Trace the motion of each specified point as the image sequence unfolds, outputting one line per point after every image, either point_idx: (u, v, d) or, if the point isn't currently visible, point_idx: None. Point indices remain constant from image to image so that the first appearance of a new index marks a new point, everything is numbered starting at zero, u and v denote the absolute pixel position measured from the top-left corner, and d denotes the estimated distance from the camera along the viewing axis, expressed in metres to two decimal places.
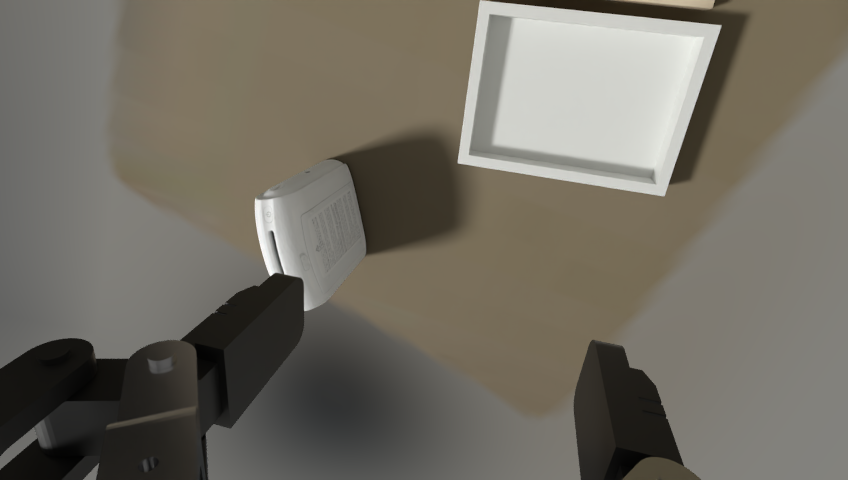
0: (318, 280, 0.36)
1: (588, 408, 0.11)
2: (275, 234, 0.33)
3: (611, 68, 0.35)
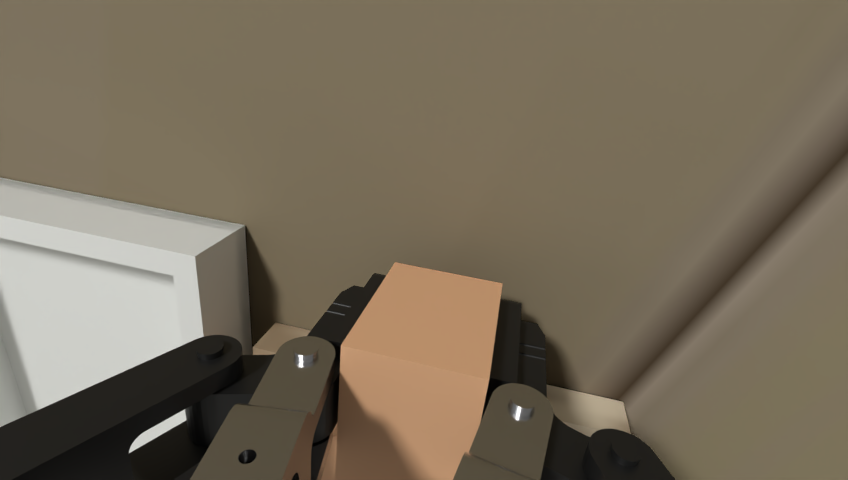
0: None
1: None
2: None
3: None
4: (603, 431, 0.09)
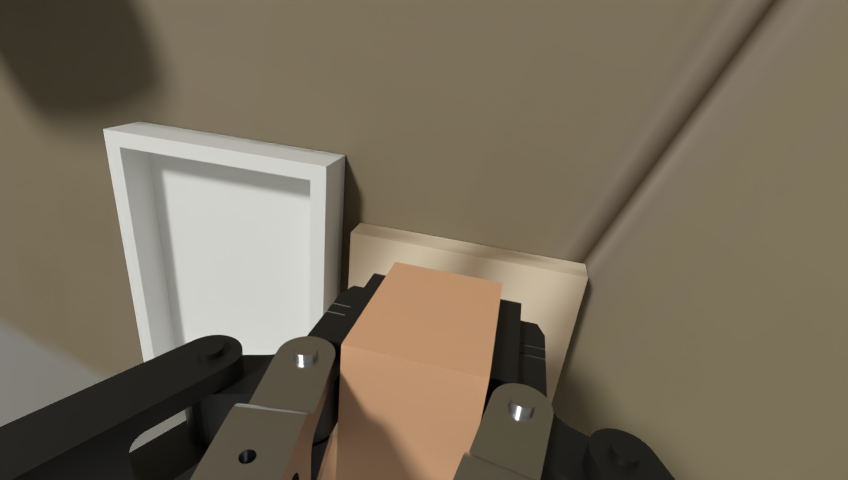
0: None
1: None
2: None
3: (280, 314, 0.28)
4: (603, 430, 0.09)
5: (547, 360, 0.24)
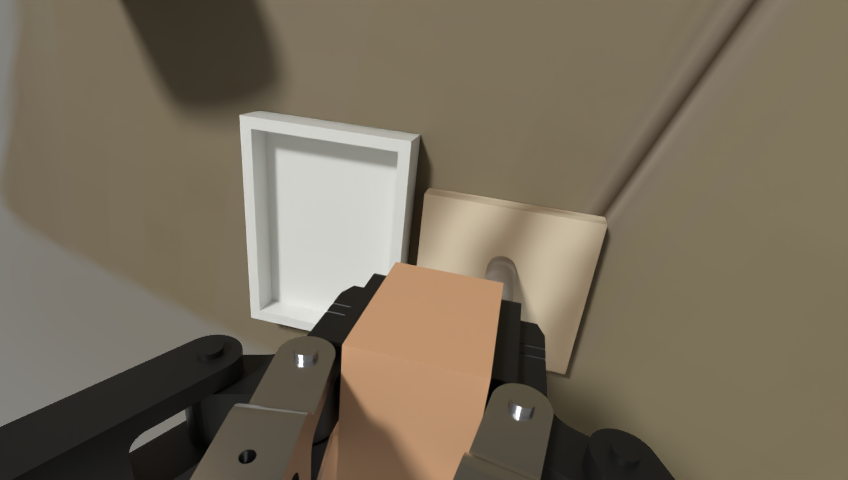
0: None
1: None
2: None
3: (361, 262, 0.36)
4: (602, 430, 0.09)
5: (575, 293, 0.32)
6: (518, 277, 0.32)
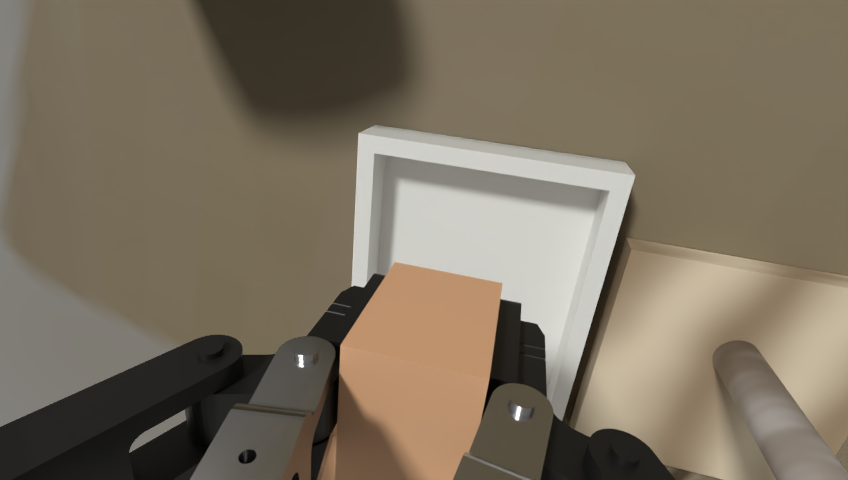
0: None
1: None
2: None
3: None
4: (602, 430, 0.09)
5: None
6: None
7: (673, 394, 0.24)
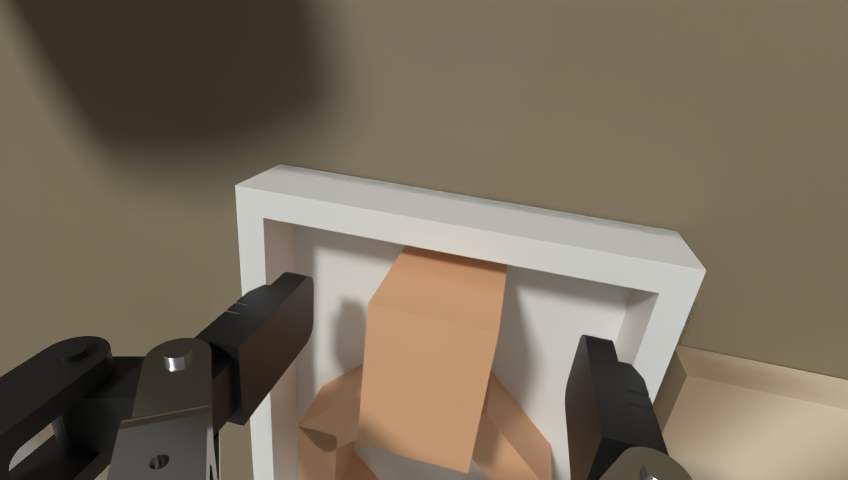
0: None
1: (578, 401, 0.11)
2: None
3: None
4: None
5: None
6: None
7: None
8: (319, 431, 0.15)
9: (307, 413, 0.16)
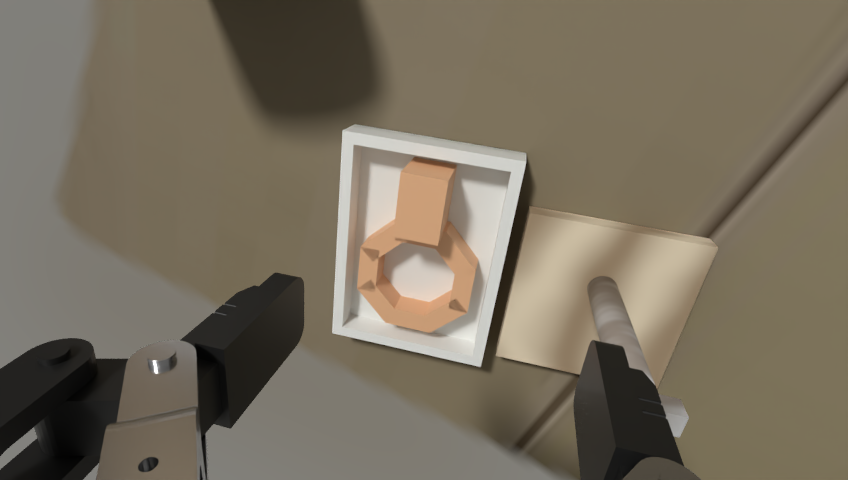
0: None
1: (588, 408, 0.11)
2: None
3: (450, 279, 0.35)
4: None
5: (676, 313, 0.32)
6: None
7: (563, 317, 0.34)
8: (370, 249, 0.33)
9: (364, 243, 0.34)
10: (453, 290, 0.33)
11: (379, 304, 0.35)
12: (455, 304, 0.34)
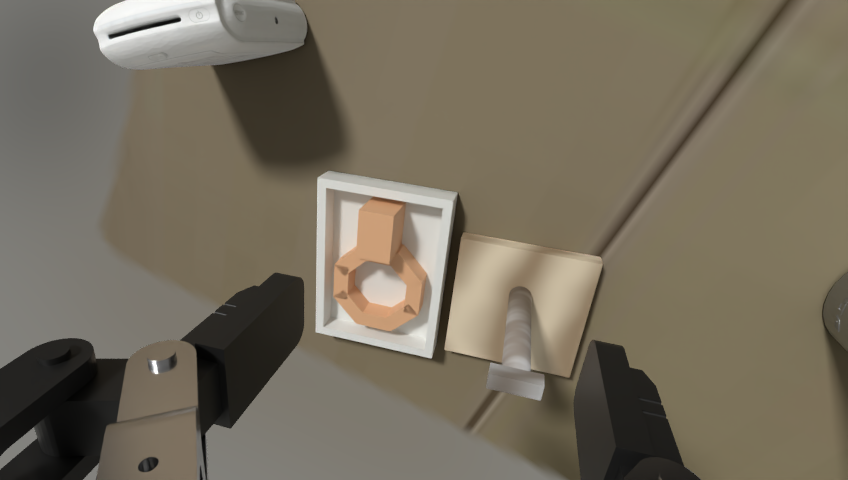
0: (144, 66, 0.31)
1: (588, 408, 0.11)
2: (176, 26, 0.28)
3: None
4: None
5: (577, 315, 0.41)
6: (533, 302, 0.41)
7: (493, 318, 0.43)
8: (342, 266, 0.43)
9: (337, 261, 0.43)
10: (406, 298, 0.43)
11: (350, 309, 0.45)
12: (408, 308, 0.43)
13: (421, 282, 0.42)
